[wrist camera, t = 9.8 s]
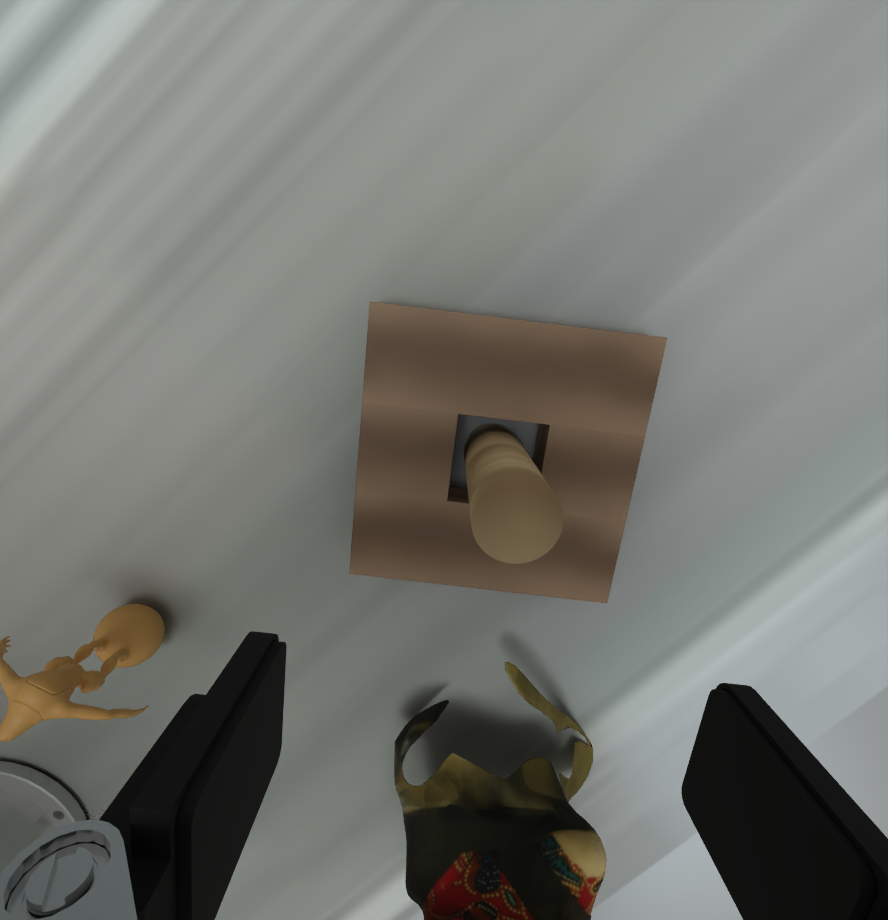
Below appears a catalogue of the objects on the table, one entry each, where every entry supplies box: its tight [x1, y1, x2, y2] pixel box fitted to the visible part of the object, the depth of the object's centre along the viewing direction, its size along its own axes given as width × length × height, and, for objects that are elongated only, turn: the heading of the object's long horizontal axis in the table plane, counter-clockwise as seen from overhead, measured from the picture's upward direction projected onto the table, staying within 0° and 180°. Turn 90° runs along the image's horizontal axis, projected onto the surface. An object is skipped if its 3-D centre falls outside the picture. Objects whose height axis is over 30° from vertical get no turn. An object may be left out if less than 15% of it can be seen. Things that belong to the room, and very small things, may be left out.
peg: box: [464, 424, 563, 564], centre depth 24 cm, size 4×4×12 cm
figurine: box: [0, 604, 165, 742], centre depth 28 cm, size 8×6×12 cm
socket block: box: [349, 302, 667, 603], centre depth 29 cm, size 16×16×3 cm
